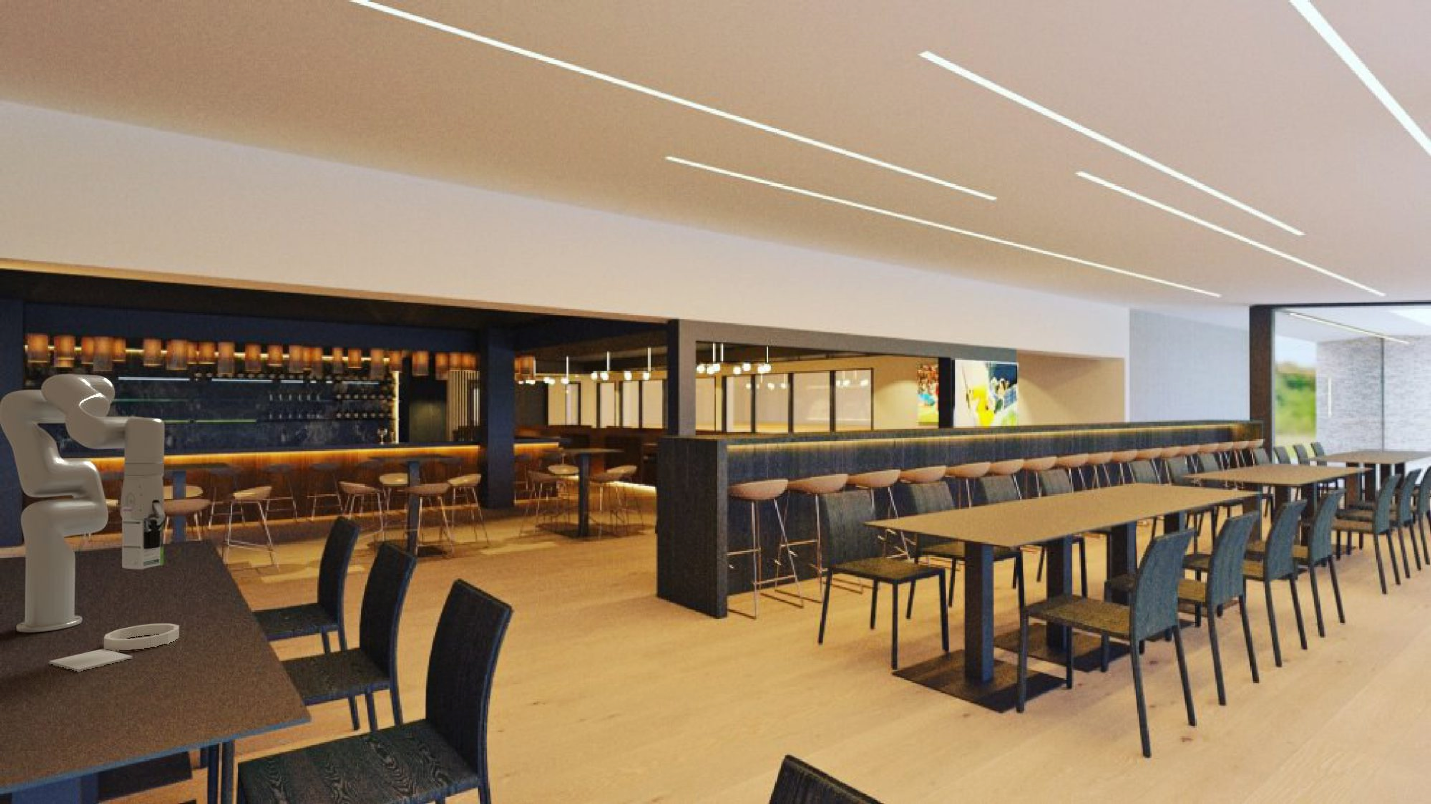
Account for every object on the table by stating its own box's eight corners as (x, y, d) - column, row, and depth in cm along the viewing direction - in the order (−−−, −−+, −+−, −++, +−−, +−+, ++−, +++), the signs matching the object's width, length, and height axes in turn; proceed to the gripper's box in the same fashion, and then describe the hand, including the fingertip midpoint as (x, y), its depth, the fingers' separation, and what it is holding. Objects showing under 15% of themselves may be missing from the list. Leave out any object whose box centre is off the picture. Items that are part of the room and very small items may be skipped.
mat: (49, 663, 168) (49, 661, 168) (103, 651, 177) (103, 648, 177) (78, 672, 163) (78, 669, 163) (132, 659, 172) (132, 656, 172)
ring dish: (91, 646, 181) (92, 635, 181) (158, 631, 194) (158, 621, 194) (125, 654, 175) (125, 643, 175) (191, 638, 187) (191, 628, 187)
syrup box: (141, 569, 181) (143, 506, 182) (120, 568, 183) (121, 505, 183) (163, 565, 187) (165, 503, 187) (143, 563, 188) (144, 502, 188)
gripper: (106, 470, 186) (104, 546, 185) (147, 473, 178) (145, 552, 177) (141, 468, 192) (140, 541, 192) (182, 471, 184) (181, 547, 184)
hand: (142, 546), depth 185 cm, fingers closed on syrup box, 6 cm apart
